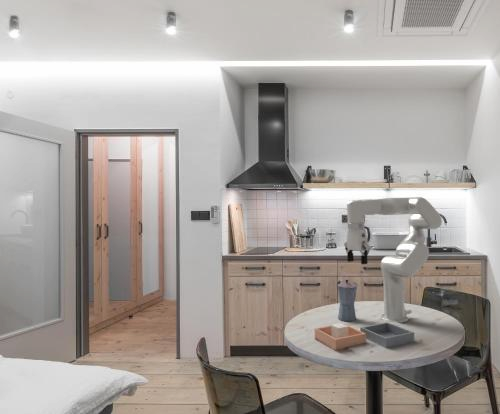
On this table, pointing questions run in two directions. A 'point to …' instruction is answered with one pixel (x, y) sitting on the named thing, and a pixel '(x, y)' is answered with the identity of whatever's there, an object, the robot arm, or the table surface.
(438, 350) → the table surface
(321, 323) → the table surface
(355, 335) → the bin
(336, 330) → the stone block
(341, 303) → the moka pot
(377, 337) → the bin
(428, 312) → the table surface
